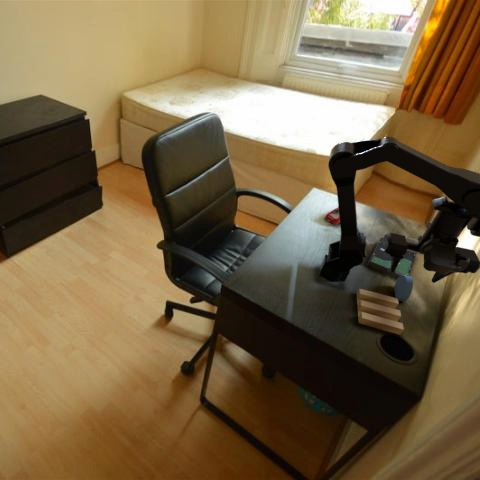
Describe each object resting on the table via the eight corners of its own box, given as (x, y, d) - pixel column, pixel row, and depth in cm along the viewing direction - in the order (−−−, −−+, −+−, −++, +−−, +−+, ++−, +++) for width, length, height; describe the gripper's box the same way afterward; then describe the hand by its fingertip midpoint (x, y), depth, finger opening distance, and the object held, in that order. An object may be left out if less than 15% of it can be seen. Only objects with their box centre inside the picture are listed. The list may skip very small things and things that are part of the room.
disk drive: (376, 243, 108) (365, 267, 99) (380, 236, 106) (369, 260, 97) (413, 257, 103) (405, 283, 94) (417, 250, 101) (409, 276, 92)
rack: (357, 325, 83) (362, 317, 81) (355, 295, 90) (359, 288, 88) (398, 337, 80) (404, 329, 78) (392, 305, 87) (397, 298, 86)
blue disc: (391, 287, 93) (403, 269, 88) (398, 288, 92) (410, 271, 88) (395, 305, 88) (407, 287, 83) (401, 307, 87) (415, 289, 83)
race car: (343, 209, 123) (347, 200, 121) (357, 216, 119) (361, 207, 117) (320, 219, 118) (324, 210, 115) (334, 227, 114) (338, 218, 111)
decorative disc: (412, 252, 104) (413, 250, 103) (397, 240, 109) (399, 238, 108) (430, 250, 105) (431, 247, 104) (414, 238, 110) (416, 235, 109)
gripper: (404, 238, 72) (374, 287, 82) (509, 261, 67) (464, 310, 76) (396, 211, 80) (370, 259, 90) (490, 229, 75) (451, 278, 84)
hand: (411, 276), depth 85 cm, fingers open, 9 cm apart
